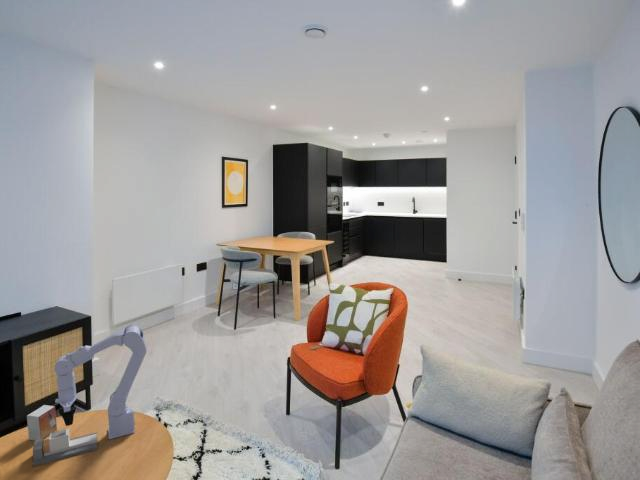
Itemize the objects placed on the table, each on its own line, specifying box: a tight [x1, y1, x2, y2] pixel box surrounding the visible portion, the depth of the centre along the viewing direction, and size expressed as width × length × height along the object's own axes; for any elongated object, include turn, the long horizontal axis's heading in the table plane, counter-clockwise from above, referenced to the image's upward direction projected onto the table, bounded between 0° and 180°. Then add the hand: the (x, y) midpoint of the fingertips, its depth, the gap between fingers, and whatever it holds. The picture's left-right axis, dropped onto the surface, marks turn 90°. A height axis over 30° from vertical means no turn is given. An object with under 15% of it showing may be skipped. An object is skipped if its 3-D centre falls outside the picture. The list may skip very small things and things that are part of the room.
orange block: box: [43, 438, 50, 453], centre depth 148 cm, size 2×4×2 cm, turn 28°
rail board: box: [32, 431, 98, 467], centre depth 151 cm, size 20×10×5 cm, turn 119°
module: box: [48, 428, 71, 452], centre depth 149 cm, size 6×4×5 cm
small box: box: [26, 404, 58, 442], centre depth 159 cm, size 8×6×10 cm
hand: (69, 419), depth 154 cm, fingers open, 7 cm apart
